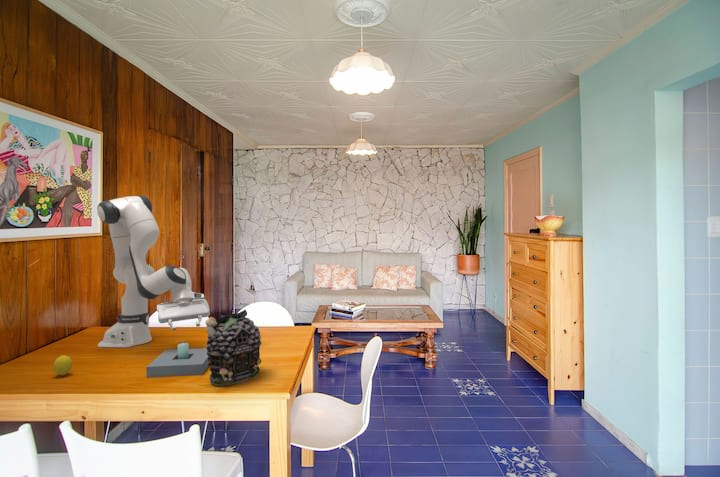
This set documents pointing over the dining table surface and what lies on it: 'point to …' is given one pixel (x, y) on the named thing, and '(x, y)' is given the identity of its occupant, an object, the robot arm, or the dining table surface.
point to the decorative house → (233, 348)
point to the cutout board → (178, 364)
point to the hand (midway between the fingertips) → (186, 327)
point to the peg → (183, 351)
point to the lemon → (62, 365)
